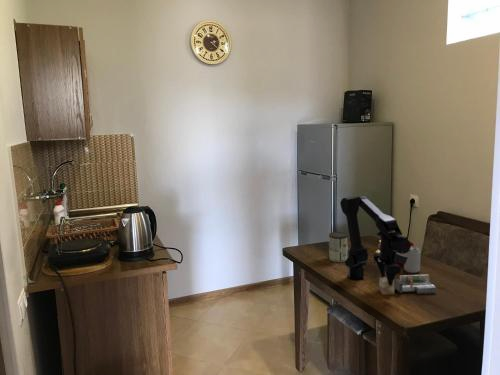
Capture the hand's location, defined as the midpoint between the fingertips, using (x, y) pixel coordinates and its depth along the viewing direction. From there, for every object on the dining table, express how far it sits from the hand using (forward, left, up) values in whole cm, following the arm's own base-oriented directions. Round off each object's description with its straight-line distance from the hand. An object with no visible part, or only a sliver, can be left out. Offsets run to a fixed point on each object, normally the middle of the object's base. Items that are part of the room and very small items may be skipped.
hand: (386, 281), depth 179 cm
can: (+21, +24, -5) cm, 32 cm away
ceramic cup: (+21, +40, -5) cm, 45 cm away
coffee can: (-11, +46, -5) cm, 47 cm away
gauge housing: (+15, +1, -5) cm, 15 cm away
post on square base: (+13, 0, -5) cm, 14 cm away
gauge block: (0, 0, -5) cm, 5 cm away
